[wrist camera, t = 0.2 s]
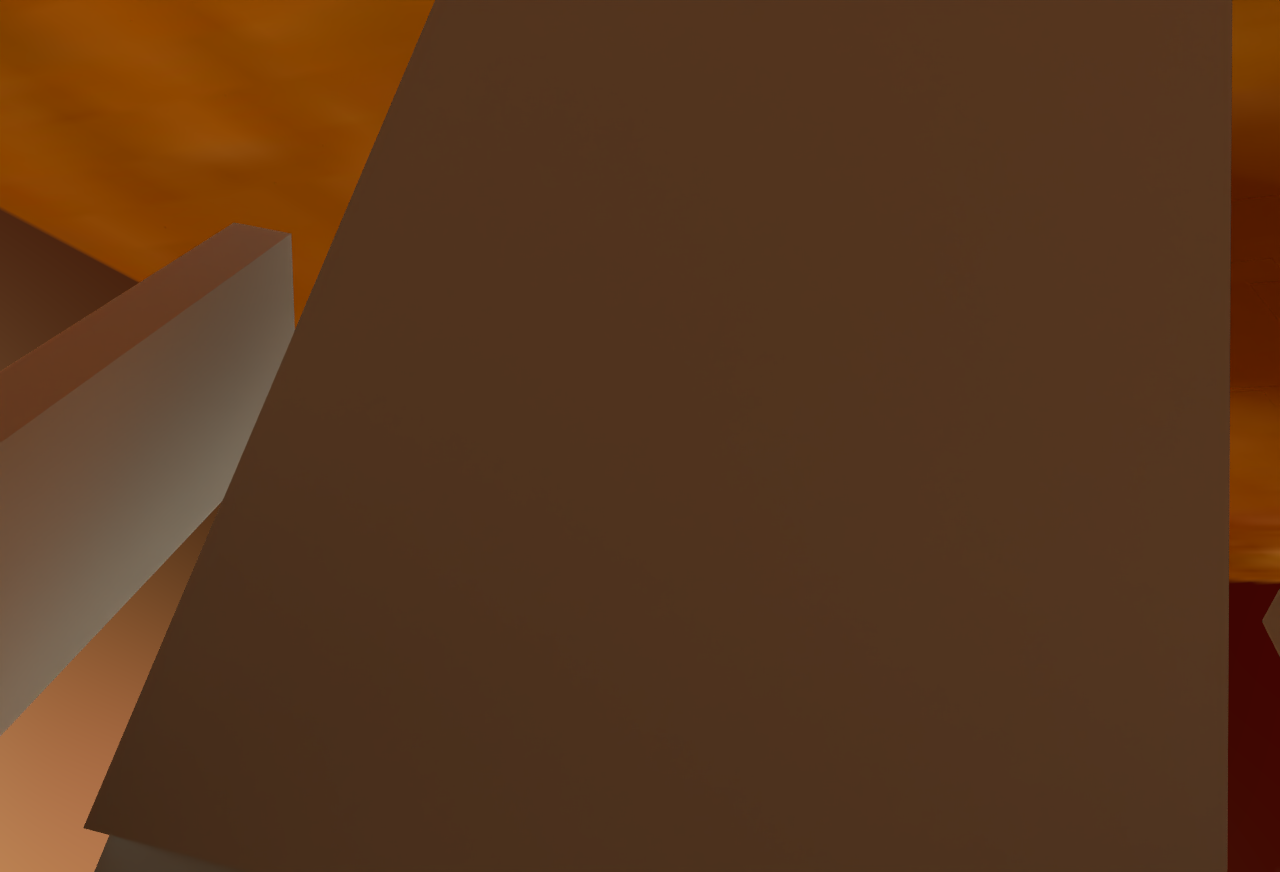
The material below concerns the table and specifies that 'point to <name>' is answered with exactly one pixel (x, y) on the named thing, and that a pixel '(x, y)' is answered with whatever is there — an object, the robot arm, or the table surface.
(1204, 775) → the tall grey block
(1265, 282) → the table surface
